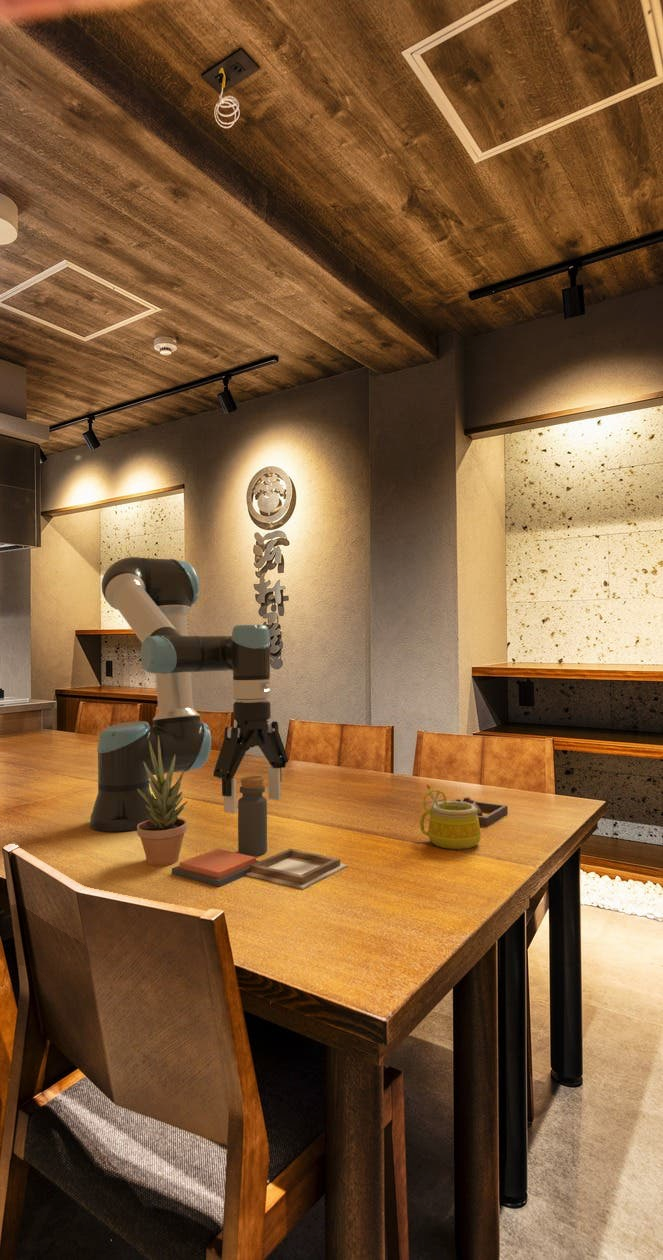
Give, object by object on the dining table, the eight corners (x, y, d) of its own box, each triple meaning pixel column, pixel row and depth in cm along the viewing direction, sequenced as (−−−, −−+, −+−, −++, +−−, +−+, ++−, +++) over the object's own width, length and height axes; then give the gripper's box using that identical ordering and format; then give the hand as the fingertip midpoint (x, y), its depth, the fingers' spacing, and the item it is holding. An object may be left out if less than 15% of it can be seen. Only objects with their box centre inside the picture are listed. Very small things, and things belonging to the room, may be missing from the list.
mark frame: (242, 874, 124) (242, 865, 124) (289, 853, 136) (289, 846, 136) (303, 889, 117) (303, 880, 117) (347, 866, 128) (347, 858, 128)
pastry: (468, 823, 158) (468, 801, 159) (443, 817, 164) (443, 796, 164) (489, 817, 164) (489, 796, 164) (464, 811, 169) (464, 791, 169)
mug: (485, 840, 145) (485, 783, 145) (474, 854, 135) (473, 794, 135) (427, 833, 150) (427, 779, 150) (412, 847, 140) (411, 788, 140)
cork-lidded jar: (262, 857, 134) (261, 781, 134) (234, 855, 135) (233, 780, 135) (270, 848, 140) (270, 775, 140) (243, 846, 141) (243, 774, 141)
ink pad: (171, 873, 125) (171, 862, 125) (217, 856, 135) (217, 846, 135) (219, 886, 118) (219, 875, 118) (264, 867, 128) (263, 856, 128)
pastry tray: (432, 818, 162) (432, 809, 162) (456, 806, 174) (455, 798, 174) (486, 826, 155) (486, 817, 155) (507, 813, 166) (507, 805, 166)
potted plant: (134, 857, 135) (133, 733, 135) (182, 850, 139) (181, 730, 139) (141, 872, 126) (140, 739, 126) (192, 865, 129) (191, 736, 130)
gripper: (222, 705, 126) (224, 821, 125) (303, 696, 146) (305, 795, 145) (193, 704, 130) (195, 816, 129) (276, 696, 150) (277, 792, 150)
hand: (253, 805), depth 137 cm, fingers open, 13 cm apart
